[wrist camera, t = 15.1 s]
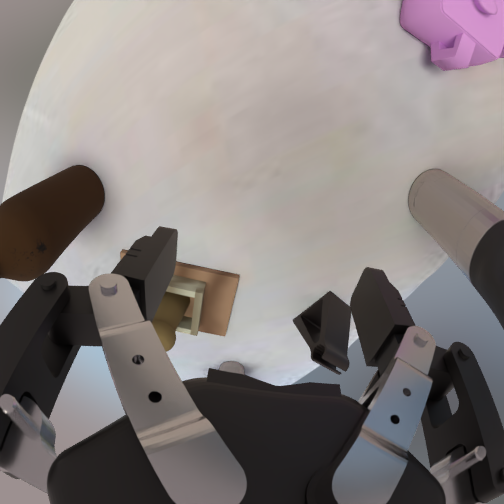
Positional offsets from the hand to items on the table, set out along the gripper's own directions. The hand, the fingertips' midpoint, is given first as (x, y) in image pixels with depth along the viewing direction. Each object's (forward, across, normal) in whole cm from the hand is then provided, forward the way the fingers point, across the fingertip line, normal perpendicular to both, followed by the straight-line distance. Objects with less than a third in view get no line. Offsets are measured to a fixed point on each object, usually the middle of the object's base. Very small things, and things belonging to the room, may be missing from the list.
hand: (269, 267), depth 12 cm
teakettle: (+28, -19, -29) cm, 45 cm away
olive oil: (+28, +28, +11) cm, 41 cm away
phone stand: (+29, -15, +26) cm, 42 cm away
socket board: (+28, +11, +27) cm, 41 cm away
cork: (+27, +11, +27) cm, 40 cm away
